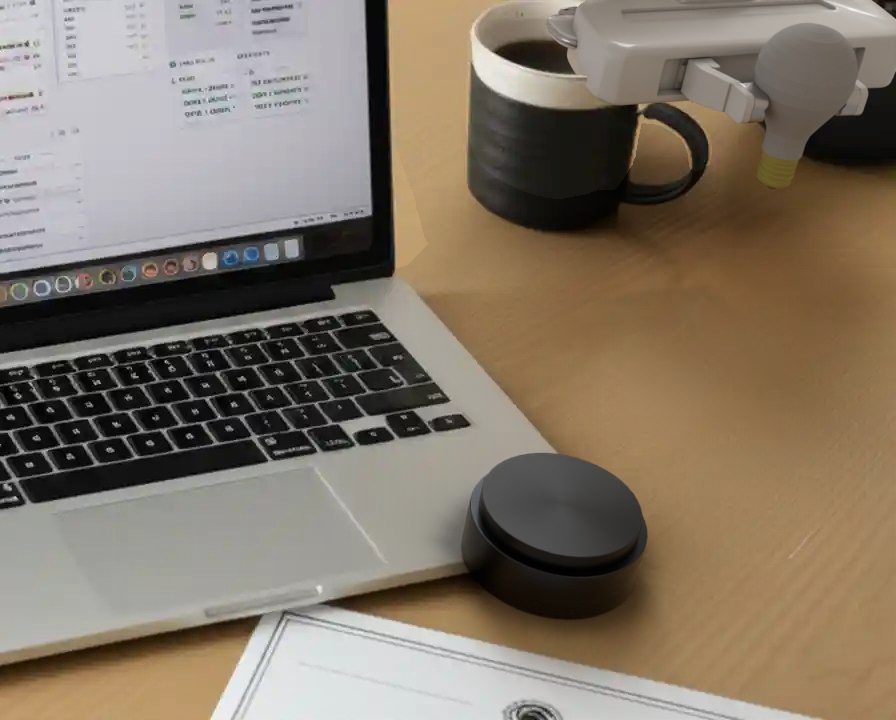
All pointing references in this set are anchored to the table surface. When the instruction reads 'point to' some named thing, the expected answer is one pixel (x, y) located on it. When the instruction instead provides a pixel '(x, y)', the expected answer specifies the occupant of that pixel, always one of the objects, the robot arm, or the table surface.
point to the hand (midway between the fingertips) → (806, 108)
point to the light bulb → (800, 92)
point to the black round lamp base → (554, 536)
